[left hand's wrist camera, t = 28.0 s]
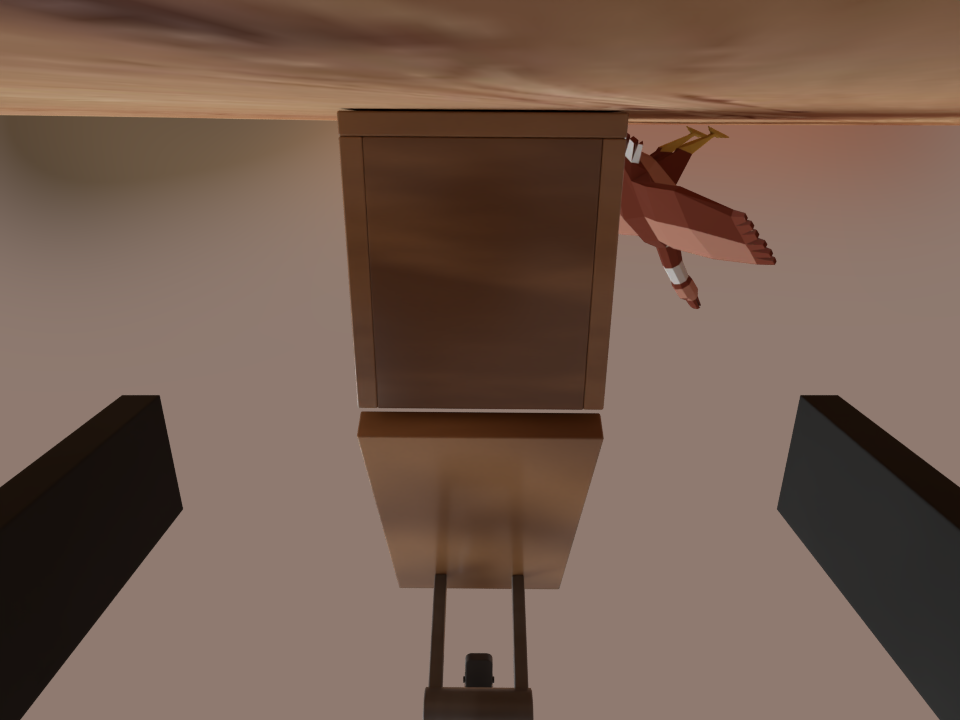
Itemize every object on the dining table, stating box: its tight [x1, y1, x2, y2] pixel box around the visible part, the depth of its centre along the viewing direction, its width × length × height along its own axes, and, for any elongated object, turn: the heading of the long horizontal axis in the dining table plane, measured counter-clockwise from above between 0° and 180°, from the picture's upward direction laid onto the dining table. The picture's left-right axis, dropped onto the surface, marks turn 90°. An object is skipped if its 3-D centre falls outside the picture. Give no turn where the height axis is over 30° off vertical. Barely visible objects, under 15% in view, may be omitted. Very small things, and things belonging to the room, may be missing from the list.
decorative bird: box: [618, 126, 776, 309], centre depth 57 cm, size 28×18×15 cm, turn 159°
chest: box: [337, 111, 629, 410], centre depth 30 cm, size 17×10×11 cm, turn 0°
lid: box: [357, 412, 604, 720], centre depth 29 cm, size 17×10×9 cm
